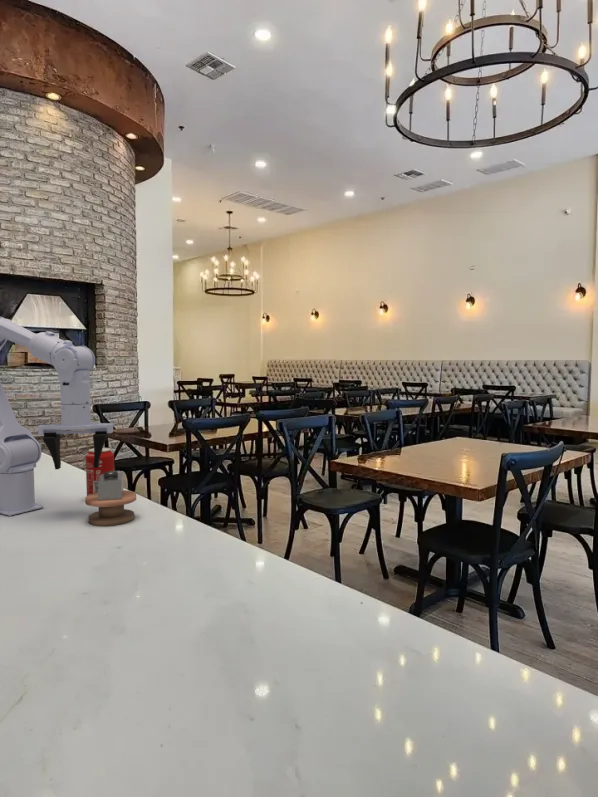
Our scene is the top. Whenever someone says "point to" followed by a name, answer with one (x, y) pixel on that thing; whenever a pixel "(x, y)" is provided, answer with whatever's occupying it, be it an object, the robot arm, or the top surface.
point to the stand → (110, 510)
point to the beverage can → (94, 473)
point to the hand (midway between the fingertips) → (77, 467)
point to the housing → (110, 486)
